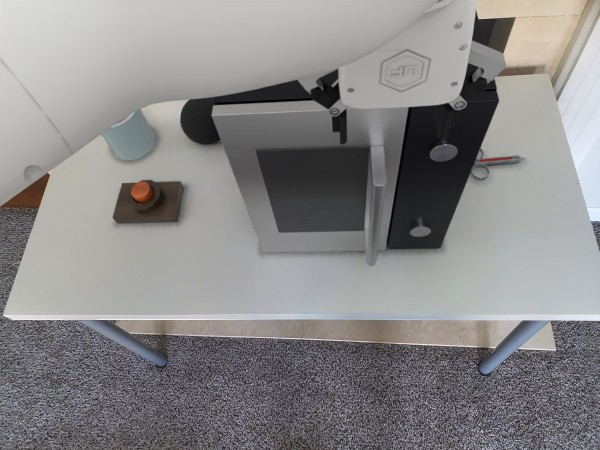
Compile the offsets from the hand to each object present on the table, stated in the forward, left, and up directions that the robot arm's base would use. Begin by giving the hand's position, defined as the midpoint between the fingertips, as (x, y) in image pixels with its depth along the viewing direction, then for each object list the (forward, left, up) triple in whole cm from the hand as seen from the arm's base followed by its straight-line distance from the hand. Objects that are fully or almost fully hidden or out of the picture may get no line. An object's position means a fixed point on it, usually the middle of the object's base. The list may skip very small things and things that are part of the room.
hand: (391, 131), depth 45 cm
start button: (-5, +45, -32) cm, 55 cm away
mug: (+6, +60, -36) cm, 70 cm away
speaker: (+14, +43, -36) cm, 58 cm away
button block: (-5, +45, -36) cm, 57 cm away
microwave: (+15, +12, -36) cm, 41 cm away
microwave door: (-2, +9, -36) cm, 37 cm away
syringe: (+30, -10, -36) cm, 48 cm away
